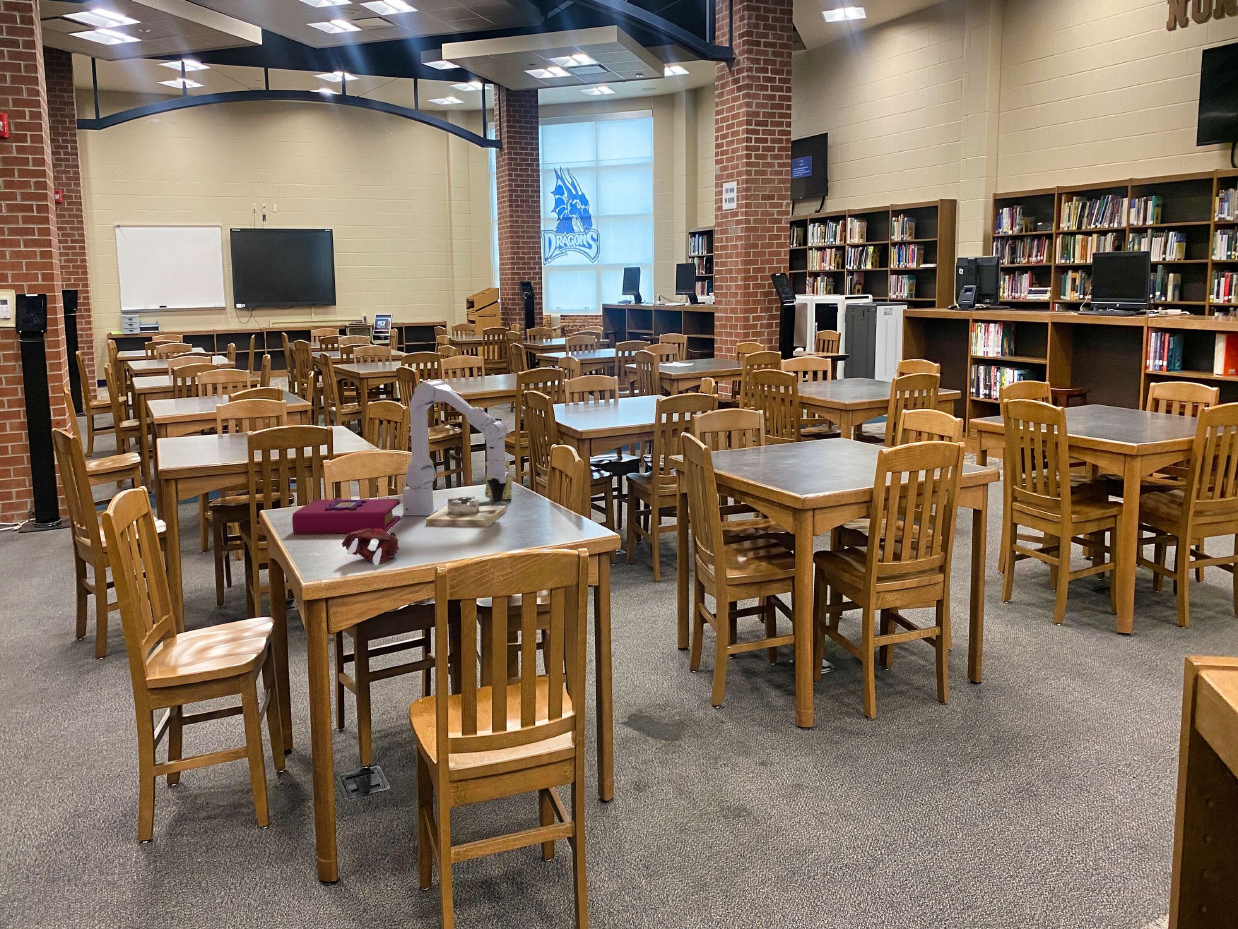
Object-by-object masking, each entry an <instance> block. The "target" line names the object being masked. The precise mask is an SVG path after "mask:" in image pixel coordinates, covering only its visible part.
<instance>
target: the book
mask: <svg viewBox="0 0 1238 929" xmlns="http://www.w3.org/2000/svg"><path fill="white" fill-rule="evenodd" d="M400 504H401V500H400V498H386V499H385V498H383V499H382V498H381V499H378V498H377V499H376V498H375V499H373V498H371V499H370V498H369V499H364V498H363V499H362V498H361V499H359V498H358V499H328V498H327V499H313V500H311V501H309V503H306V504H305V505H304V506H302V507H301V508H299V509H297V510H296V511H294V512H293V513H292V516H291V517H292V518H291V522H292V533H293V535H331V534H330V533H351V532H354V531H358V530H363V529H367V528H370V529H371V528H372V529H379V528H381V529H382V530H384V531H385V532H387V531H388V532H389V531H390V530H391V529H392V528H393V527H395V525H396V524H397V523H398V522H399V520H400V519H402V518H401V517H402V516H401V515H397V514H396V515H393V510H394V509H395V508H396V507H397V506H399V505H400ZM400 521H401V520H400ZM391 527H392V528H391ZM389 529H390V530H389ZM388 532H387V533H388Z"/></svg>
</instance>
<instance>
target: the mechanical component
mask: <svg viewBox="0 0 1238 929" xmlns="http://www.w3.org/2000/svg"><path fill="white" fill-rule="evenodd" d="M510 463H511V461H509V460H507V459H505V467H506V472H509V473H510ZM484 465H485V466H486V467H487V461H486V462H485V463H484ZM487 473H488V472H487V471H486V474H487ZM491 479H492V478H491V477H487V475H486V479H485V491H484V496H485V497H486V499H489V500H490V499H491V496H490V491H491V489H490V486H489V484H488V483H487V480H491ZM506 481H507V484H506V486H505V488H504V491H503V496H502V499H506V500H507V499H510V500H509V501H512V499H513V496H512V495H513V494H512V491H513V490H512V489H513V485H512V484H513V481H514V478H513V477H512V476H511V477H510V474H509V475H506ZM491 506H495V505H491Z"/></svg>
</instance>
